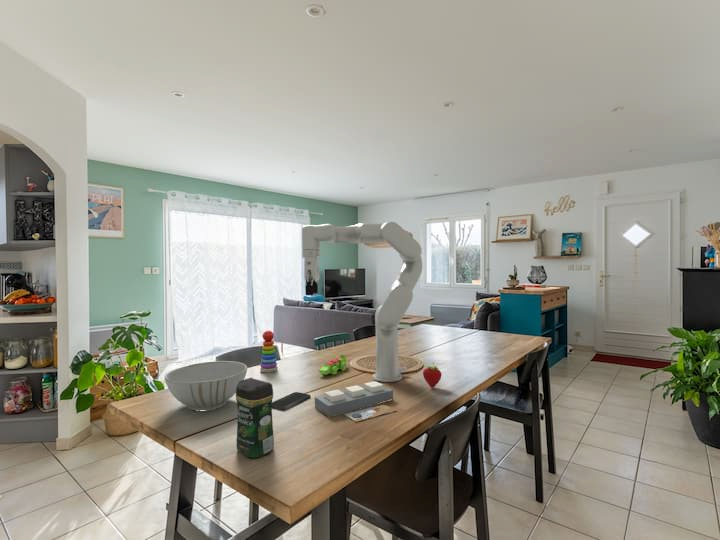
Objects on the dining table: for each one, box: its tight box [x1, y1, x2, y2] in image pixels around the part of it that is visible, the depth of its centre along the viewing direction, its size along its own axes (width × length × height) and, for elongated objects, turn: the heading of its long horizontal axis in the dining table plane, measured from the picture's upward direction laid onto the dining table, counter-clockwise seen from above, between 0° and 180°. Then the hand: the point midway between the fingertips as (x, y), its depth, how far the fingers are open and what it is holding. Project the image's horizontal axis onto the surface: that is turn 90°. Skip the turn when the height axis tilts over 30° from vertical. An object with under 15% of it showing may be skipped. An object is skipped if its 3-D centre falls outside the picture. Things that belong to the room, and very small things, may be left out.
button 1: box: [324, 388, 345, 402], centre depth 124 cm, size 5×5×4 cm
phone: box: [272, 391, 311, 411], centre depth 132 cm, size 8×1×15 cm
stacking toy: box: [259, 330, 279, 374], centre depth 172 cm, size 8×8×19 cm
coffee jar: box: [235, 377, 275, 459], centre depth 97 cm, size 10×8×19 cm
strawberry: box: [422, 362, 443, 388], centre depth 145 cm, size 6×8×10 cm
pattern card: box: [344, 406, 376, 421], centre depth 120 cm, size 16×7×1 cm, turn 123°
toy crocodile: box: [318, 354, 348, 376], centre depth 169 cm, size 20×7×6 cm, turn 150°
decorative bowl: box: [164, 360, 248, 412], centre depth 130 cm, size 27×27×12 cm
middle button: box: [344, 385, 365, 397], centre depth 129 cm, size 5×5×4 cm
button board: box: [314, 385, 394, 418], centre depth 129 cm, size 26×10×4 cm, turn 123°
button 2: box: [363, 380, 384, 393], centre depth 133 cm, size 5×5×4 cm
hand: (311, 294), depth 157 cm, fingers open, 9 cm apart
